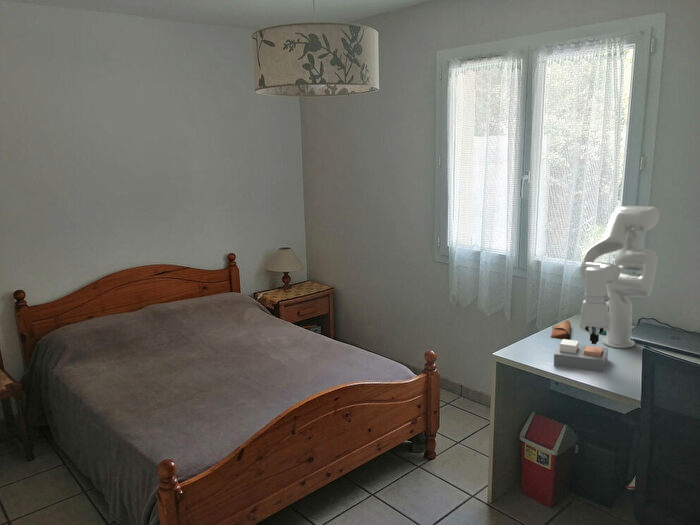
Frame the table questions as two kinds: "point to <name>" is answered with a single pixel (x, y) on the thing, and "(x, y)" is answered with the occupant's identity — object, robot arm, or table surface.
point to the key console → (581, 359)
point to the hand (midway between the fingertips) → (594, 343)
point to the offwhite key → (569, 346)
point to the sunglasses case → (561, 330)
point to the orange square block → (593, 351)
